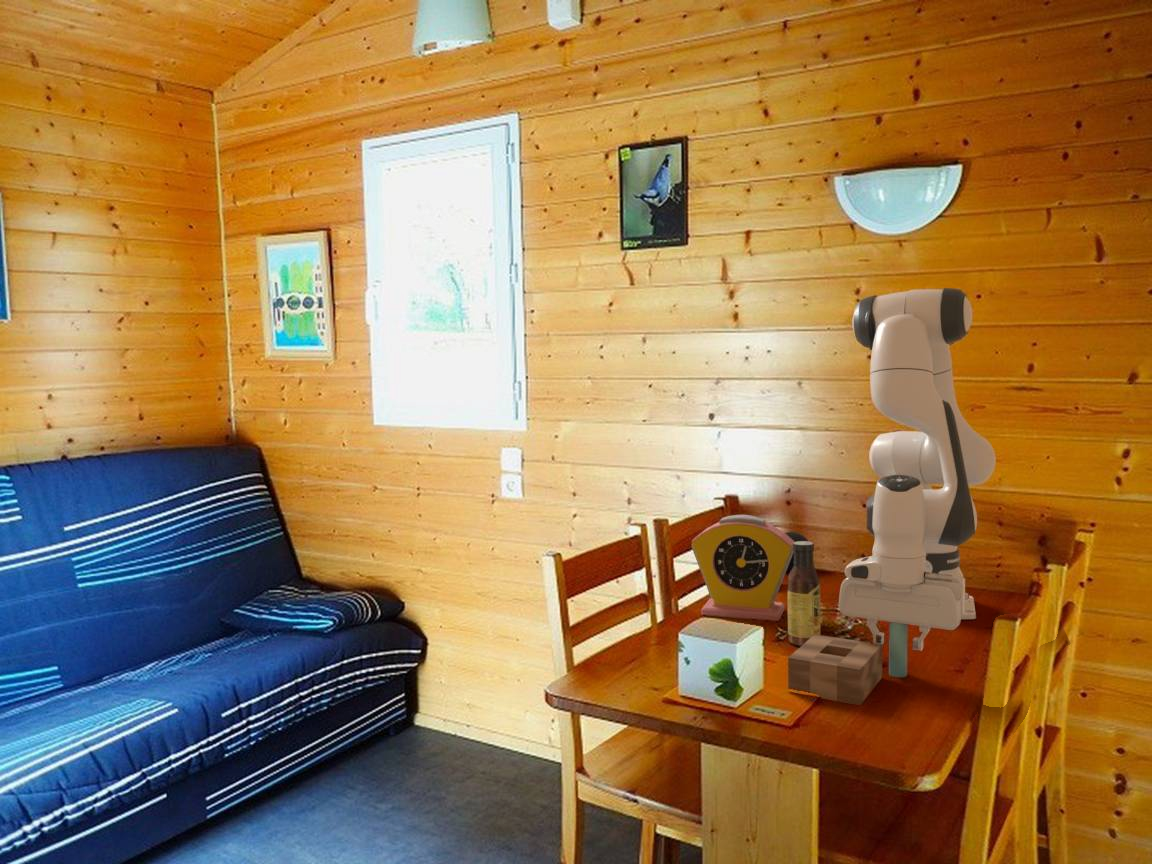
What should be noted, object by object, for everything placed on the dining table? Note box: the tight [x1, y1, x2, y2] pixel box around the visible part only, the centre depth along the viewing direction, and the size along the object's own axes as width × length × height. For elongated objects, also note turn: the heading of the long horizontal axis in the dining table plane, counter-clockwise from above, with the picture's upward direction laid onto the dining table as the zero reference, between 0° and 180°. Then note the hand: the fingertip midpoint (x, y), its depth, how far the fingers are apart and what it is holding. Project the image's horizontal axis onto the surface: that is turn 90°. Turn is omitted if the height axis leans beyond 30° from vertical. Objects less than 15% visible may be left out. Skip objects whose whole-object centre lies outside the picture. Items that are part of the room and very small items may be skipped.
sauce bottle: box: [786, 540, 821, 647], centre depth 180 cm, size 6×6×20 cm
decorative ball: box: [784, 531, 810, 572], centre depth 237 cm, size 10×10×10 cm
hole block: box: [787, 634, 883, 706], centre depth 159 cm, size 14×12×6 cm
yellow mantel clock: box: [690, 514, 794, 622], centre depth 201 cm, size 22×9×22 cm, turn 69°
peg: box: [888, 622, 908, 679], centre depth 163 cm, size 3×3×10 cm
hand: (898, 646), depth 163 cm, fingers open, 5 cm apart
